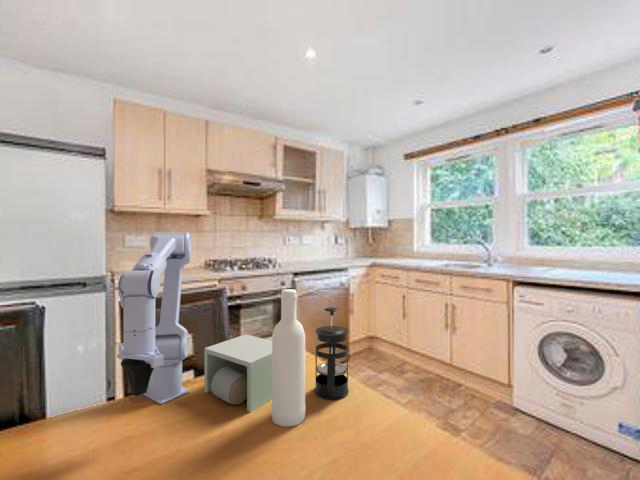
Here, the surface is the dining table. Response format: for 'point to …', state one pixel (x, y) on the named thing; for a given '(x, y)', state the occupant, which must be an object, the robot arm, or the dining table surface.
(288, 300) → the bottle
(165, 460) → the dining table surface
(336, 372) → the french press
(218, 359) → the counter shelf
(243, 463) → the dining table surface
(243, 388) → the ceramic mug
